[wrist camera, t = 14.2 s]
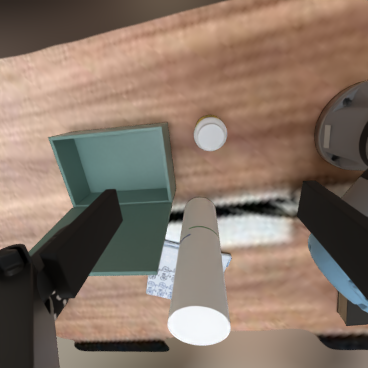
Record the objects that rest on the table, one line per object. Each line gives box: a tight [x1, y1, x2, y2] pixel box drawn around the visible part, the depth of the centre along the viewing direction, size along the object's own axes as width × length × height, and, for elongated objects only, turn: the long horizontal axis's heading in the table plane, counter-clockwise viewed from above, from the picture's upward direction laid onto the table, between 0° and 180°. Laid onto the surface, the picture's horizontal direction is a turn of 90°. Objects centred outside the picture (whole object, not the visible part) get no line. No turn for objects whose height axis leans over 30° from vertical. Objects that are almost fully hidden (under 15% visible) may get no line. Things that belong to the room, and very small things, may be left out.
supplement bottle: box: [194, 115, 227, 151], centre depth 33 cm, size 5×5×10 cm
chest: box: [48, 122, 176, 208], centre depth 39 cm, size 14×20×7 cm
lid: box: [28, 203, 172, 276], centre depth 32 cm, size 15×20×1 cm
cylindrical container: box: [168, 197, 231, 345], centre depth 34 cm, size 7×7×25 cm
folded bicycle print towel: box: [146, 241, 232, 299], centre depth 52 cm, size 19×20×2 cm
